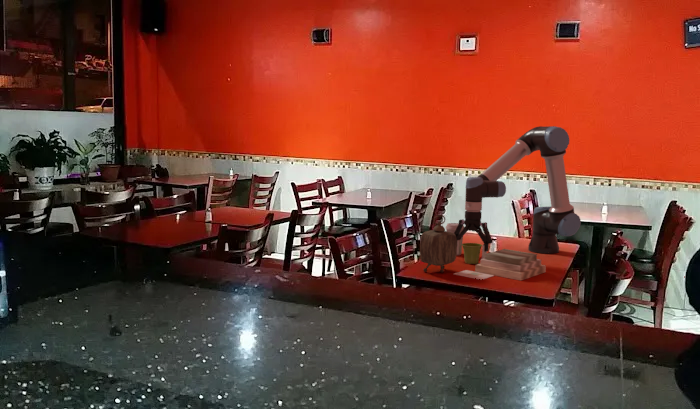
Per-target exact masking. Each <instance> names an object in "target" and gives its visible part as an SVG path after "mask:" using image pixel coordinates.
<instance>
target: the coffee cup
mask: <svg viewBox="0 0 700 409" xmlns="http://www.w3.org/2000/svg"><path fill="white" fill-rule="evenodd" d="M458 224H459V222H458V223H457V222H451V223H447V224H446V226H445V231H447V232H452V233H454V232H455V230H456V228H457V226H458ZM464 225H465V224H463V227H462V229H461V231H462V230H463V228H464V227H465V226H464ZM461 231H460V232H461ZM459 234H460V233H459ZM460 240H462V242H463V240H464V236H463V237H462V238H461V239H460ZM461 254H462V253H461ZM461 254H457V252H456V256H461Z"/></svg>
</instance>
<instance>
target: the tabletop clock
mask: <svg viewBox="0 0 700 409" xmlns="http://www.w3.org/2000/svg"><path fill="white" fill-rule="evenodd" d="M439 217H441V218H443V221H442V222H441V221H440V220H439V221H437V222H436V221H435V220H436V218H439ZM445 222H446V216H444V215H443V214H438V215H436V216H434V218H433V224H435V226H434V227H433V229H430V230H426V231H424V232H423V233H422V234H421V235H420V240H419V241H420V242H419V256H420V261H421V262H422V263H423V264H424V263H425V264H427V265H426V268H425V267H424V268H423V272H424V273H426V272H428V268H429V267H430V266H431V265H432V266H436V267H440V269H439V272H440V273H444V269H445V265H449V264H452V263H454V262H455V261H456V258H457V255H456V252H457V238H456V235H455V234H454V233H452V232H447V231H446V227H444V226H443V224H445Z"/></svg>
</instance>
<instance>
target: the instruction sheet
mask: <svg viewBox="0 0 700 409" xmlns="http://www.w3.org/2000/svg"><path fill="white" fill-rule="evenodd" d="M453 275H456V276H461V277H466V278H470V279H475V278H476V280H479V279H480V281H482V279H483V280H486V279H488V278H492V277H494V276H495V275H490V274H485V273H480V272H475V270H474V271H473V270H469V269H465V270H464V269H463V270H462V271H459V272H455V273H453Z"/></svg>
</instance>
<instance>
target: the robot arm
mask: <svg viewBox="0 0 700 409" xmlns="http://www.w3.org/2000/svg"><path fill="white" fill-rule="evenodd" d="M569 145H570V135H569V133H568V131H567V130H566V129H564V128H563V127H559V126H555V125H553V126H551V125H550V126H547V125H546V126H542V125H540V126H535V127H533V128H531V129H529V130H528V131H526V132H525V133H524V134H523V135H521V136H519V137H518V138H517V139H516V140H515V143H514V145H512V146H511V147H510V148H509V149H508V150H506V151H505V153H503V154H502V155H501V156H500V157H499V158H498V159H496V160H495V161H494V162H493V163H491V165H489V166H488V167H487V168H486V169H485V170H484V171H482V172H481V173H480V174H479V175H478V176H469V177H467V178H466V181H465V200H464V202H465V204H464V210H465V211H464V219H465V220H464V219H458V223H459V224H458V226H457V228H456V230H455V232H454V234H455V235H456V238H457V254H462V250H463V246H462V244H463V241H462V240H460V239H461V238H462V237H463V238H464V235H465V234H466V233H467V232H468V231H472V232H476V233H477V235H478V236H479V238H480V240H481V241H482V243H483V244H481V245H482V247H481V252H482V253H481V259H484V258H485V254H487V253H488V251H489V245H490V244H493V242H494V241H493V239H492V235H491V233H490V231H489V228H488V223H487V222H485V221H484V222H482V210H483V206H482V205H483V198H502V197H504V196H505V194H506V192H507V187H506V183H505V182H503V181H499V179H500V178H501V177H503V176H504V175H505V174H506V173H508V172H509V171H510V169H512V168H513V167H514V166H515V165H516V164H517V163H519V162H520V161H521V160H522V159H523V158H525V157H526V156H530V155H531V154H532V153H534V152H536V151H539V152H540V157H541V158H543V159H544V163H545V171H546V177H547V184H548V185H547V186H548V193H549V198H550V204H551V206H537V207H534V209H533V214H532V216H533V218H532V236H531V238H530V241H529V243H528V251H529V252H533V253H536V254H538V253H539V254H557V253H559V252H560V246H559V243H558V242H559V241H558V239H557V235H560V236H562V237H571V236H573V235H575V234H576V233H577V232H578V230H580V227H581V224H582V223H581V217H580V216H579V215H578V214H577V213H575V208H574V206H573V205H572V204H571V203H570V202H571V201H570V195H569V188H568V181H567V175H566V174H567V173H566V168H565V159H564V156H565V155H566V154H567V151H566V150H567V149H568V147H569ZM463 225H465V226H464V228H463V230H462V231H461V229H462V227H463ZM460 231H461V232H460ZM459 233H460V234H459Z"/></svg>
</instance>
